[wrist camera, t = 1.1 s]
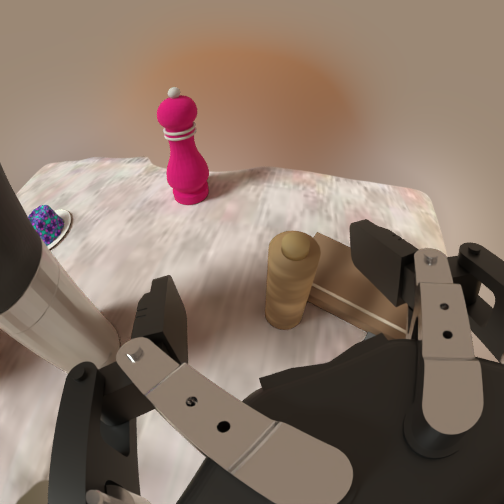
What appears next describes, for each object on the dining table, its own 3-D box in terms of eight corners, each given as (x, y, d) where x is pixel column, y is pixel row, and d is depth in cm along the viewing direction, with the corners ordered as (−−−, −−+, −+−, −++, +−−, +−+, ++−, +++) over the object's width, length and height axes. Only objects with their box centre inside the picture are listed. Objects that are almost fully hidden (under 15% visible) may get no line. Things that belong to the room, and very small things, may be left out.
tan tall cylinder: (257, 317, 33) (258, 248, 23) (277, 290, 36) (285, 216, 26) (290, 336, 32) (308, 273, 21) (308, 307, 34) (331, 237, 24)
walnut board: (282, 287, 36) (283, 280, 34) (315, 239, 41) (317, 231, 40) (415, 356, 29) (421, 351, 27) (431, 297, 34) (437, 291, 32)
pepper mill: (208, 178, 51) (196, 77, 36) (214, 202, 47) (200, 89, 31) (171, 186, 50) (150, 86, 34) (172, 210, 46) (146, 100, 30)
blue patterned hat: (48, 262, 39) (34, 243, 35) (18, 250, 41) (5, 233, 37) (82, 215, 46) (72, 194, 42) (49, 209, 48) (39, 191, 44)
